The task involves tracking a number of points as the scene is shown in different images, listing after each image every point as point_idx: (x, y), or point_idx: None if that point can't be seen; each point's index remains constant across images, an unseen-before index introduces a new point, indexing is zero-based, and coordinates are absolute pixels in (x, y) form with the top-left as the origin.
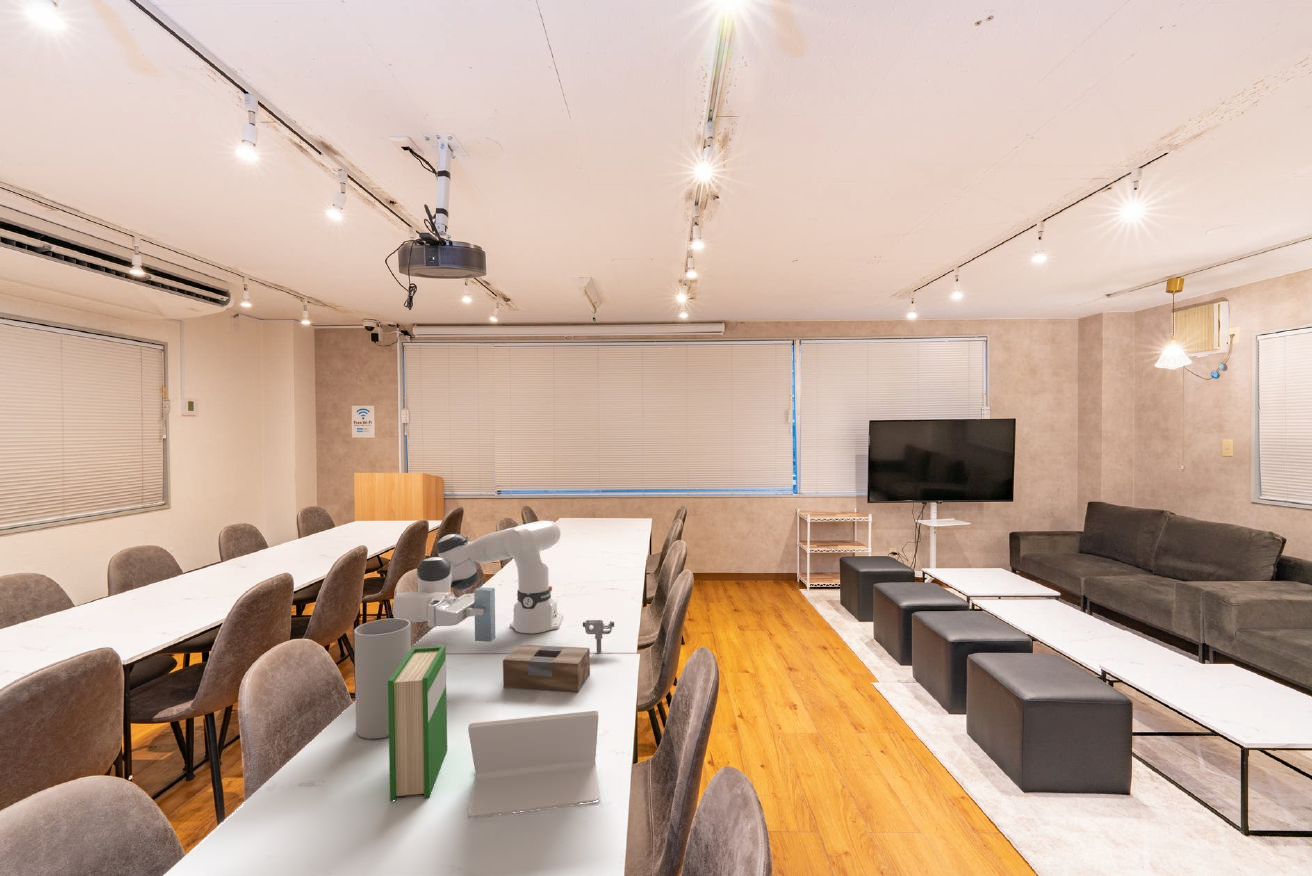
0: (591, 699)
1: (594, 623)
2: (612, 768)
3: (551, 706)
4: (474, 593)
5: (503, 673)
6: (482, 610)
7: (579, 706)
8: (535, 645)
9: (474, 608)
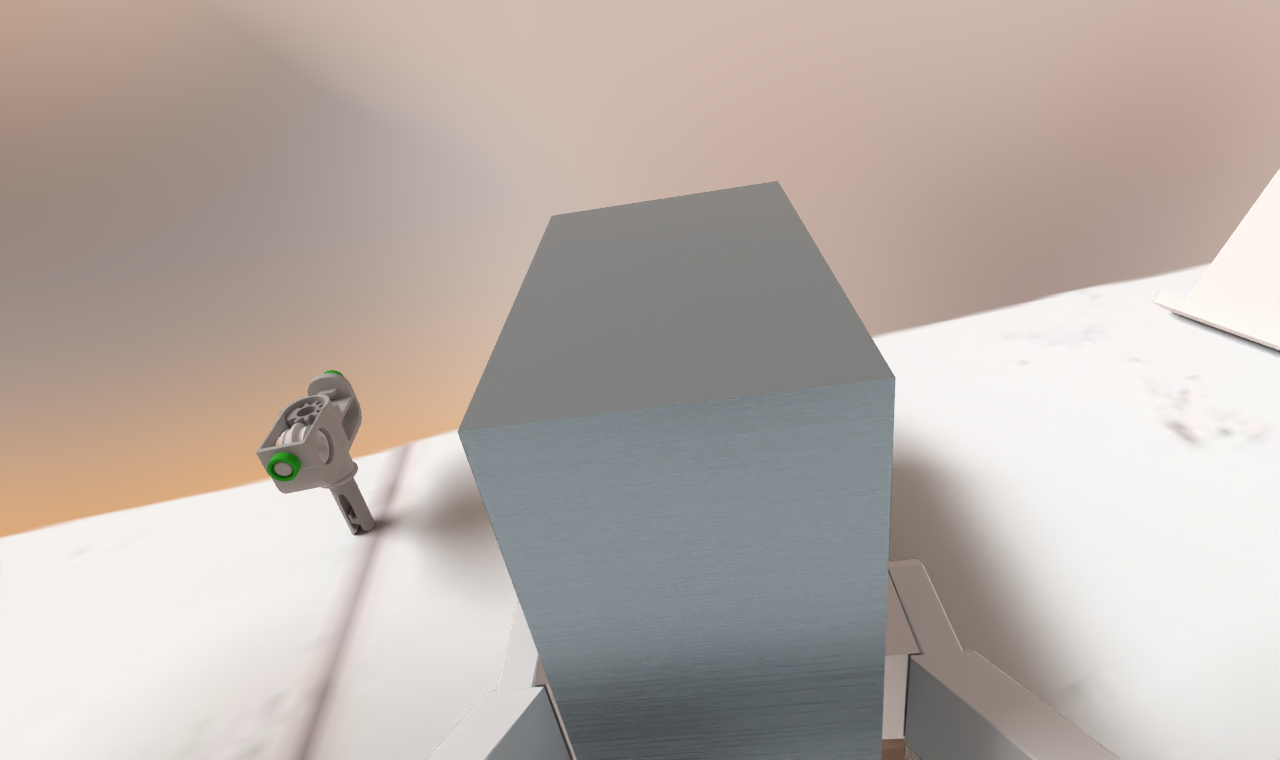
0: None
1: (321, 415)
2: (1168, 284)
3: (961, 491)
4: (890, 481)
5: (903, 743)
6: (916, 573)
7: (905, 424)
8: None
9: (991, 712)
